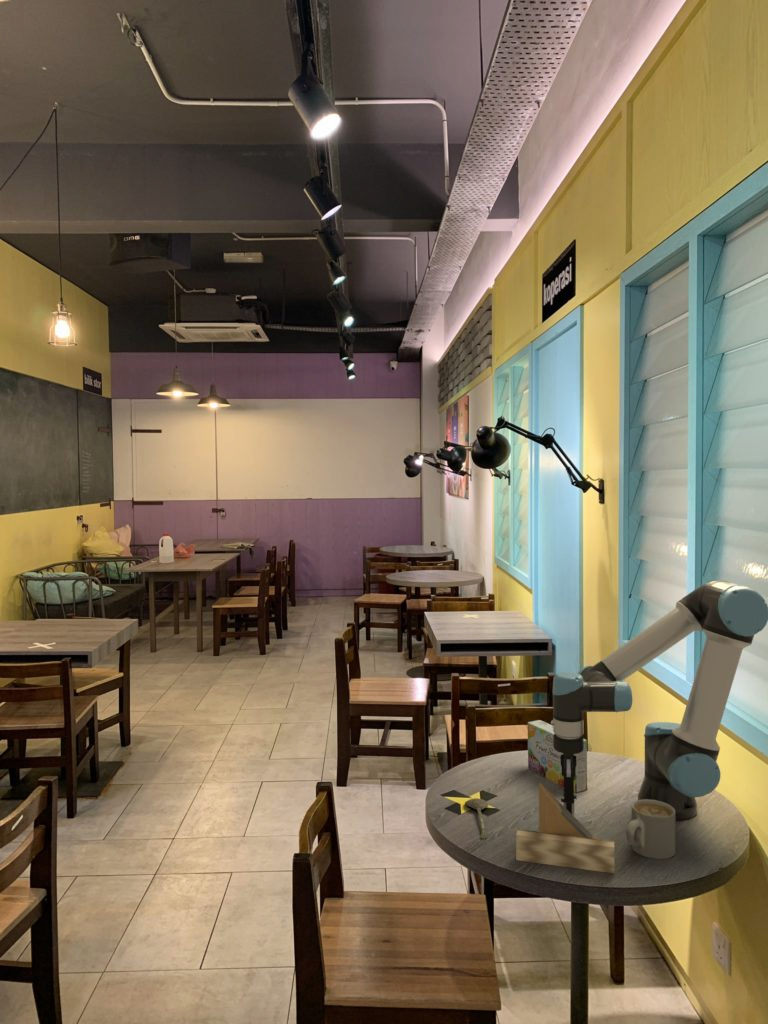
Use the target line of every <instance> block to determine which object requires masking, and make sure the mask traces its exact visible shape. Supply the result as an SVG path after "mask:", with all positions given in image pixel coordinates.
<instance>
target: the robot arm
mask: <svg viewBox="0 0 768 1024" xmlns="http://www.w3.org/2000/svg"><path fill="white" fill-rule="evenodd" d="M767 624H768V603H767V601H766V600H765V598H764V597H763V596H762V595H761V593H759V592H758V591H757V590H755V589H752V588H751V587H748V586H746V585H742V584H737V583H733V582H729V581H726V580H719V579H718V580H713V581H709V582H706V583H704V584H702V585H700V586H699V587H697V588H696V589H693V590H692V591H691V592H689V593H688V594H686V595H685V596H684V597H682V598H681V599H679V600H678V601H677V602H676V603H675V608H674V609H672V610H670V611H669V612H667V614H664V616H661V618H659V619H658V620H657V621H655V622H654V623H652V624H651V625H650V626H648V627H646V629H644V630H642V631H641V632H639V633H638V634H637V635H636V636H634V637H633V638H632V639H630V640H628V641H626V643H624V644H623V645H621V646H620V647H618V648H617V649H616V650H614V651H613V652H612V653H610V654H608V655H607V656H606V657H605V658H603V659H602V660H600V661H598V662H597V663H595V664H594V665H586V666H583V667H582V668H580V669H579V671H578V672H569V671H568V672H565V671H563V672H557V673H556V674H555V675H554V676H553V681H552V691H551V692H552V710H553V711H552V717H553V719H552V720H551V721H550V725H553V732H554V733H555V734H554V735H553V747H554V749H555V750H556V751H557V752H561V753H563V755H561V766H562V776H563V777H564V788H563V789H562V791H563V794H562V795H563V798H560V803H563V804H562V805H563V806H564V807H565V808H566V809H567V810H568V811H569V812H570V813H571V814H572V815H573V816H574V817H575V800H577V795H575V793H574V777H575V776H576V766H577V764H576V756H574V755H573V754H578V753H581V752H582V751H583V749H584V739H585V738H584V736H583V735H584V731H585V730H584V729H585V728H584V720H585V719H584V713H585V712H586V713H593V712H594V713H599V712H600V713H621V712H629V711H630V710H631V709H632V706H633V692H632V688H631V686H630V684H629V683H628V682H627V681H624V680H626V679H628V678H629V677H631V676H632V675H634V674H635V673H636V672H637V671H639V670H641V669H642V668H643V667H645V666H646V665H648V664H649V663H651V662H652V661H653V660H655V659H656V658H658V657H659V656H661V655H662V654H663V653H665V652H667V651H668V650H669V649H670V648H672V647H673V646H675V645H676V644H678V643H679V642H680V641H682V640H683V639H685V638H686V637H688V636H689V635H690V634H692V633H694V632H702V631H703V634H704V635H705V636H706V638H705V642H704V646H703V648H702V652H701V656H700V659H699V663H698V666H697V669H696V672H695V676H694V679H693V683H692V686H691V690H690V692H689V695H688V699H687V702H686V707H685V709H684V712H683V717H682V720H681V723H678V722H669V721H668V722H667V721H655V722H654V721H653V722H650V723H647V724H646V725H645V728H644V734H643V737H644V777H643V781H642V783H641V786H640V788H639V791H638V794H637V801H638V800H645V799H647V800H656V801H661V802H664V803H666V804H669V805H670V806H672V807H673V808H674V809H675V821H677V820H681V821H682V820H688V819H691V818H693V817H695V816H696V815H697V814H698V803H697V800H696V798H701V797H705V796H706V795H709V794H711V793H712V792H714V790H716V788H717V787H718V785H719V784H720V781H721V768H720V767H719V766H720V765H719V764H718V762H717V761H718V757H719V754H720V750H721V747H720V745H719V744H718V742H717V736H718V733H719V730H720V726H721V723H722V719H723V716H724V712H725V709H726V706H727V702H728V700H729V696H730V692H731V689H732V686H733V682H734V680H735V676H736V673H737V668H738V667H739V666H738V665H739V663H740V659H741V656H742V652H743V650H744V649H745V648H746V647H747V648H748V647H749V646H752V643H753V641H754V637H755V635H757V634H758V633H760V632H762V630H763V629H765V627H766V625H767Z"/></svg>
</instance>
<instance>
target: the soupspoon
mask: <svg viewBox="0 0 768 1024" xmlns="http://www.w3.org/2000/svg"><path fill="white" fill-rule="evenodd" d="M464 804H465V805H467V806H468V807H470V808H472V809H474V810H475V811H477V815H478V818H479V822H480V828H481V834H480V836H479V838H480V839H488V835H487V834H486V829H485V825H484V819H483V815H482V810H484V809H486V808H487V807H488V806H489V805H490V803H489V802H488V801H486V800H485V799H482V798H470V799H468V800H466V801H465V802H464Z"/></svg>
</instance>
